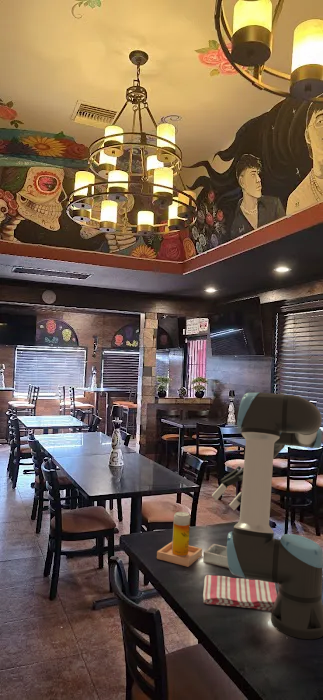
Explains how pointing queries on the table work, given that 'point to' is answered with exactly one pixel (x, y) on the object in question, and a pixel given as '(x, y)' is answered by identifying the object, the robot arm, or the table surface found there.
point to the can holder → (216, 555)
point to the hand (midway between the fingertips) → (222, 502)
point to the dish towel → (239, 592)
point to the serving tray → (185, 561)
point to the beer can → (181, 534)
